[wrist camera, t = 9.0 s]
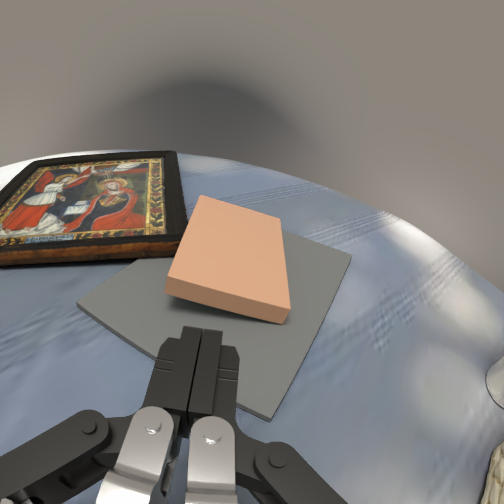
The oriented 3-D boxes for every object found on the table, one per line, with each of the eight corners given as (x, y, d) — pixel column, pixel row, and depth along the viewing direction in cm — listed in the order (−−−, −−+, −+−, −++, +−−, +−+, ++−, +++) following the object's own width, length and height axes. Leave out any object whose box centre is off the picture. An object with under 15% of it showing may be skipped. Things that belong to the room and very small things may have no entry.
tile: (290, 309, 25) (279, 219, 39) (167, 275, 24) (200, 194, 37) (281, 325, 26) (274, 232, 40) (163, 294, 25) (196, 209, 38)
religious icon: (16, 174, 51) (14, 161, 49) (173, 157, 64) (173, 144, 62) (-60, 289, 22) (-69, 268, 20) (227, 257, 35) (229, 234, 33)
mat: (77, 306, 25) (76, 301, 25) (217, 212, 44) (217, 208, 43) (269, 422, 19) (271, 418, 19) (350, 259, 38) (352, 255, 37)
